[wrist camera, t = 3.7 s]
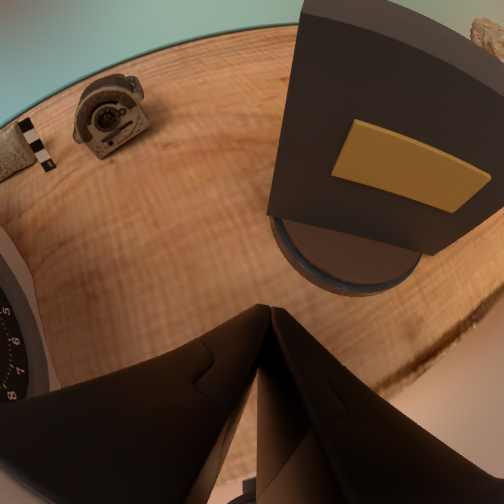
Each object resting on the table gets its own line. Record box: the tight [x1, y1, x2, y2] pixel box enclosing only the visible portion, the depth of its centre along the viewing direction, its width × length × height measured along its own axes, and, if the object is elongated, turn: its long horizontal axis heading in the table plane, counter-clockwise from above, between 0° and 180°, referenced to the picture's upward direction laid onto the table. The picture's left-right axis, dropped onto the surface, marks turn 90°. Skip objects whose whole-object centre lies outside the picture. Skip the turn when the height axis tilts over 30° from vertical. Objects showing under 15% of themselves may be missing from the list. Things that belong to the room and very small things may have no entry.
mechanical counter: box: [73, 73, 151, 159], centre depth 24 cm, size 7×13×10 cm
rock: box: [470, 18, 504, 63], centre depth 32 cm, size 18×16×15 cm
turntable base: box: [270, 216, 422, 297], centre depth 23 cm, size 14×14×2 cm
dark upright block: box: [267, 0, 504, 285], centre depth 15 cm, size 13×14×16 cm
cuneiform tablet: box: [0, 117, 56, 181], centre depth 22 cm, size 7×4×12 cm
